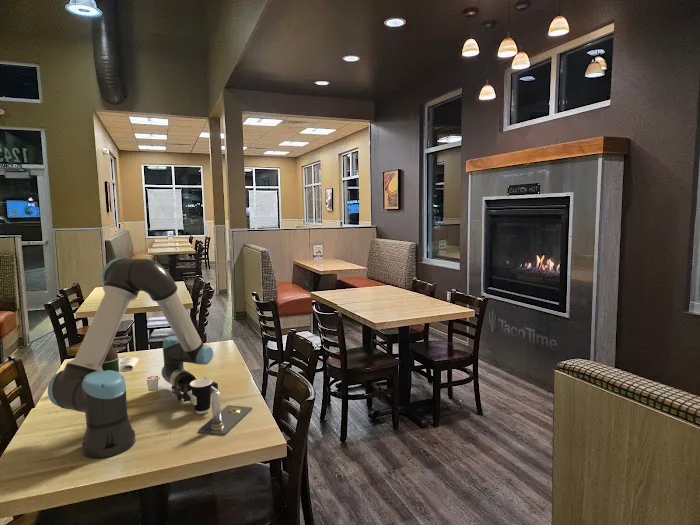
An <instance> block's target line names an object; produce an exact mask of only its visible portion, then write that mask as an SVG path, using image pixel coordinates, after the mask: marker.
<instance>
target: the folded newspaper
mask: <svg viewBox="0 0 700 525" xmlns="http://www.w3.org/2000/svg"><path fill="white" fill-rule="evenodd" d="M139 361H140V359H139V357H135V356H126V355H118V362H119V373H121V372H126V371H127V372H128V371H132V370H133V369H134V368H135V367H136V366H137V364H138V362H139Z"/></svg>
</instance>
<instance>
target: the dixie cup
mask: <svg viewBox="0 0 700 525" xmlns="http://www.w3.org/2000/svg"><path fill="white" fill-rule="evenodd" d="M196 379H197V380H194V381H192V382H191V383H190V386H191V391H190V392H191V394H193V395H194V396H195V397H196V399H197V405H194V404H193V407H194V410H195V413H196V414H199V415H202V414H207V413H208V412H210V409H211V401H212V394H211V384H212V381H213V380H212V379H211V378H207V379H203V378H199V379H198V378H196Z"/></svg>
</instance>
